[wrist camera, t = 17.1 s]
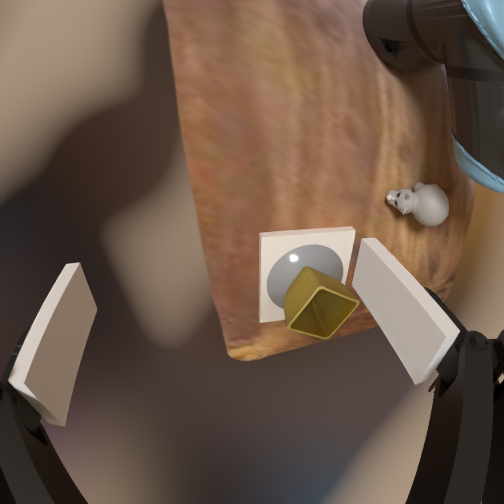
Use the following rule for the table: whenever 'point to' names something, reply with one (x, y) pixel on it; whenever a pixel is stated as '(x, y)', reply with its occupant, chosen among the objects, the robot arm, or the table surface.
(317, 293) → the flower pot
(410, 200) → the hippopotamus figurine
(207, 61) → the table surface
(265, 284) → the tile stand
